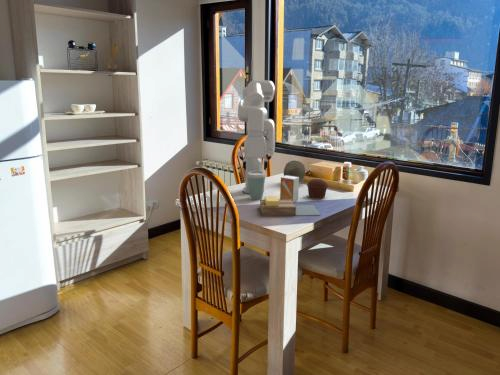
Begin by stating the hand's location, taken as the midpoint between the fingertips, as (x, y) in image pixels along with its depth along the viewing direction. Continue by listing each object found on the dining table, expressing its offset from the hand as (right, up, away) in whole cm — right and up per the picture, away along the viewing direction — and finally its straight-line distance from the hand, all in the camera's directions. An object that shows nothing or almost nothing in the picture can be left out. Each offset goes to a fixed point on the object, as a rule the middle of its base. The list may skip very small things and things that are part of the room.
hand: (255, 169), depth 200 cm
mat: (+25, -20, +8) cm, 33 cm away
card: (+8, -16, +6) cm, 19 cm away
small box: (+19, -16, +26) cm, 36 cm away
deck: (+11, -20, +7) cm, 24 cm away
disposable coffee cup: (+1, -15, +29) cm, 33 cm away
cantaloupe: (+25, -7, +62) cm, 67 cm away
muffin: (+35, -14, +34) cm, 51 cm away
